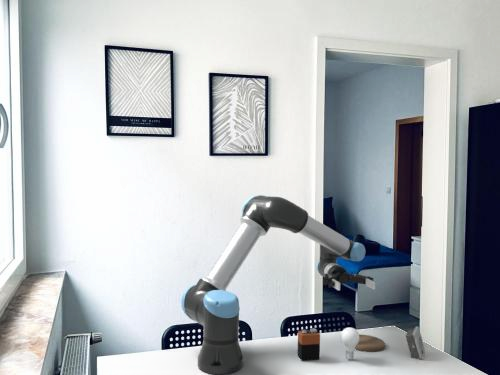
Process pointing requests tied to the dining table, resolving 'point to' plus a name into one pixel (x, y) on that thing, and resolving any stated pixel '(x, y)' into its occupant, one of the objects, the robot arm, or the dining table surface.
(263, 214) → the robot arm
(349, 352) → the lightbulb
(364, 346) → the board
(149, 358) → the dining table surface
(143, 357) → the dining table surface
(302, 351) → the battery
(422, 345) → the electrical switch
